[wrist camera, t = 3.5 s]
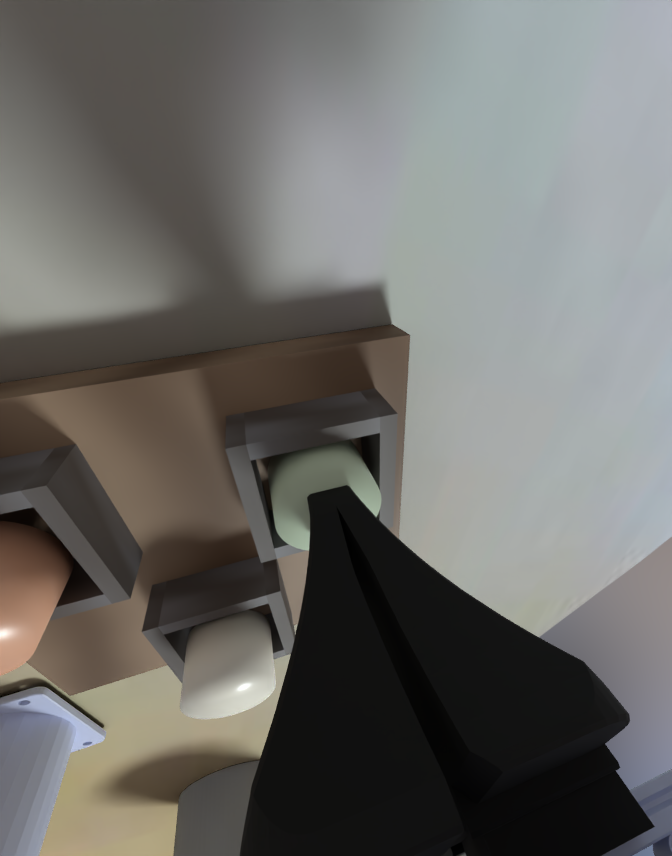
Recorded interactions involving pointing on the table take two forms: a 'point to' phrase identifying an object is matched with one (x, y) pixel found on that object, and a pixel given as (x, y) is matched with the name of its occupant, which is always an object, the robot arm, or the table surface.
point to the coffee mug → (214, 812)
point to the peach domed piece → (28, 588)
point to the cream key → (228, 666)
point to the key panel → (187, 487)
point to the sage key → (315, 485)
